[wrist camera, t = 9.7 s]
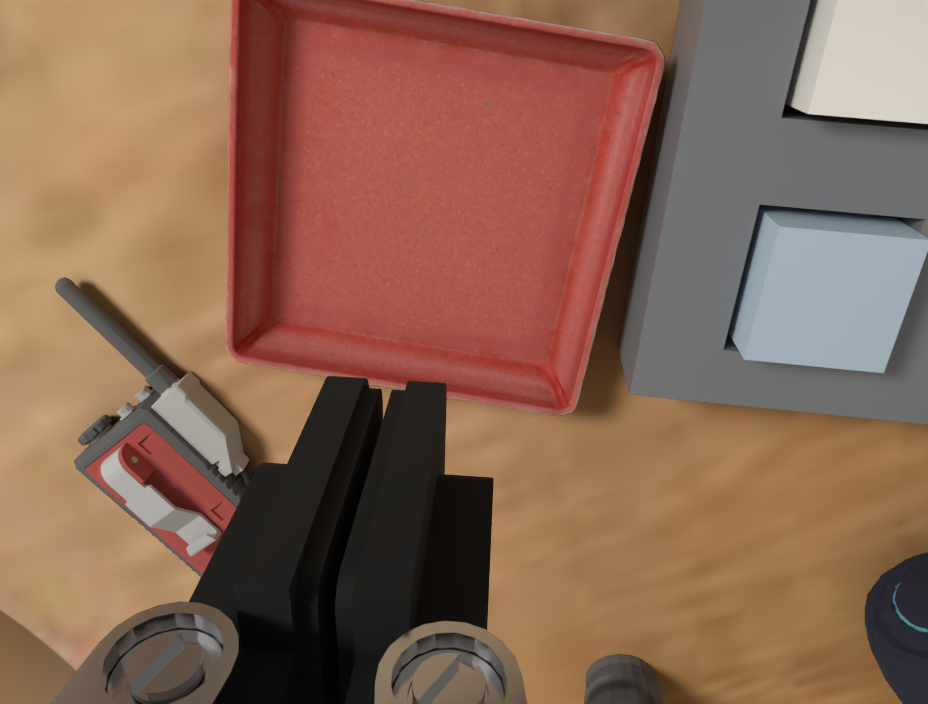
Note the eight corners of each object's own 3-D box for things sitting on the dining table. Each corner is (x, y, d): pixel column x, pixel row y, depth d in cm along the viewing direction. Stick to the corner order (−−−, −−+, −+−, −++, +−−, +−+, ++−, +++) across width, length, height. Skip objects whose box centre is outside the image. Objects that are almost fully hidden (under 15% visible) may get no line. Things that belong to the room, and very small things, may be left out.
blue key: (745, 195, 33) (779, 226, 29) (877, 206, 33) (931, 240, 29) (717, 313, 36) (744, 359, 31) (839, 325, 36) (883, 373, 31)
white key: (805, -59, 29) (855, -69, 25) (956, -48, 29) (1035, -55, 24) (768, 96, 32) (807, 114, 27) (907, 108, 31) (970, 127, 27)
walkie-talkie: (337, 508, 45) (85, 259, 40) (319, 557, 42) (35, 289, 36) (239, 571, 48) (-9, 348, 42) (213, 623, 44) (-65, 384, 38)
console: (708, -154, 29) (740, -180, 25) (1073, -128, 29) (1174, -151, 24) (618, 348, 39) (629, 394, 34) (890, 374, 38) (937, 425, 34)
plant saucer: (659, 38, 33) (672, 42, 30) (571, 390, 41) (574, 422, 38) (256, -32, 33) (228, -34, 30) (246, 334, 41) (224, 361, 38)
